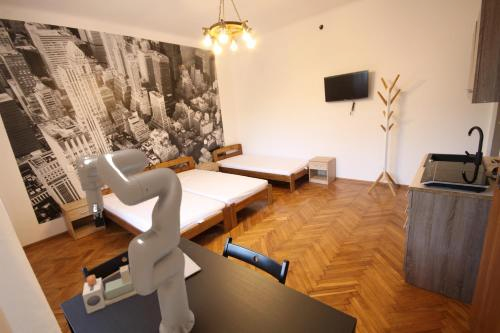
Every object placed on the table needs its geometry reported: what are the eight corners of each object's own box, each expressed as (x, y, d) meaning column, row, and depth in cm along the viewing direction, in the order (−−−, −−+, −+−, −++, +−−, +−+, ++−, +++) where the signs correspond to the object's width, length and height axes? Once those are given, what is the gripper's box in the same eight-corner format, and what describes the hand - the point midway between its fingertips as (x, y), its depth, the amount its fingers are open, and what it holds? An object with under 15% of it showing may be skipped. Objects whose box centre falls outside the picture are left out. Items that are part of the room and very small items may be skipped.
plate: (149, 272, 115) (149, 268, 115) (184, 255, 127) (183, 252, 127) (164, 292, 102) (164, 288, 101) (201, 271, 114) (201, 268, 113)
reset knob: (96, 284, 96) (94, 278, 95) (87, 287, 94) (86, 280, 93) (96, 279, 98) (95, 273, 97) (88, 282, 97) (86, 276, 96)
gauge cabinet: (104, 307, 95) (100, 289, 93) (87, 314, 92) (82, 295, 90) (105, 294, 102) (101, 277, 100) (89, 300, 99) (84, 282, 97)
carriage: (133, 291, 101) (129, 270, 98) (107, 301, 96) (102, 280, 94) (132, 282, 106) (128, 263, 104) (107, 291, 101) (102, 271, 99)
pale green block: (150, 288, 104) (148, 277, 103) (104, 306, 96) (101, 294, 94) (148, 278, 110) (146, 268, 109) (105, 295, 102) (102, 283, 100)
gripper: (83, 181, 101) (92, 216, 106) (78, 192, 87) (89, 233, 91) (103, 178, 105) (111, 212, 109) (102, 188, 90) (110, 227, 95)
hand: (101, 221), depth 100 cm, fingers open, 9 cm apart
